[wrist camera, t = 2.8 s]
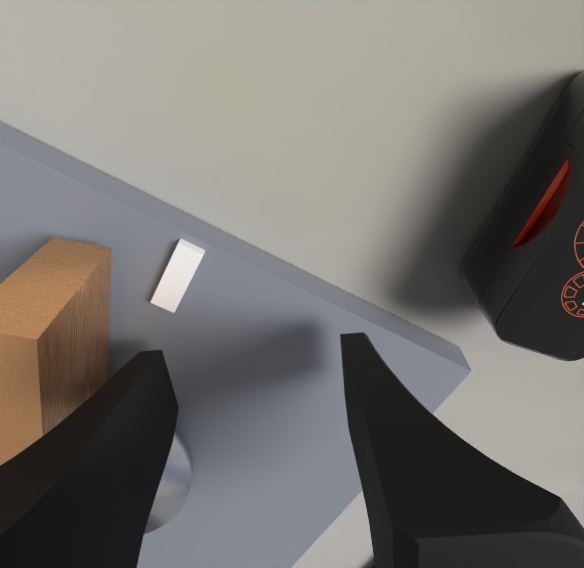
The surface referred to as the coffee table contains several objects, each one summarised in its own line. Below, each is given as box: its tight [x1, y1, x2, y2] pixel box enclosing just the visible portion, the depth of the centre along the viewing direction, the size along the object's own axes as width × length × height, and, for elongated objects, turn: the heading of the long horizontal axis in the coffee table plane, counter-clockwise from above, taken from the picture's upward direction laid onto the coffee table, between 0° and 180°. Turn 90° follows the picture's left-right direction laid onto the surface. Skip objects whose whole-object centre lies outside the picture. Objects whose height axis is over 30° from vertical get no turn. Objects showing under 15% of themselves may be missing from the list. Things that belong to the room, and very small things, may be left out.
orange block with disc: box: [0, 237, 193, 534], centre depth 13 cm, size 12×7×4 cm, turn 168°
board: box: [0, 121, 471, 568], centre depth 16 cm, size 18×16×2 cm
